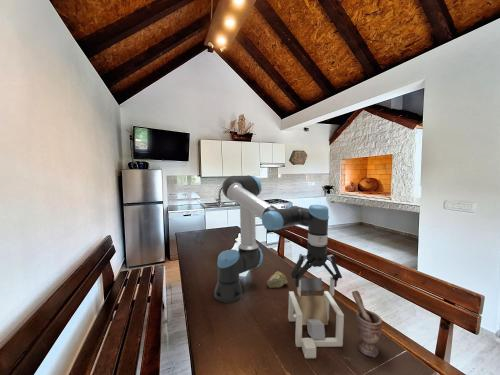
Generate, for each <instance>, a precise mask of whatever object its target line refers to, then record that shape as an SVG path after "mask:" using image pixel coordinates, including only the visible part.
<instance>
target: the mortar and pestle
mask: <svg viewBox="0 0 500 375" xmlns="http://www.w3.org/2000/svg"><path fill="white" fill-rule="evenodd" d="M351 294H352V297H353V299H354V301H355V303H356V305H357V307H358V309H359V310H357V311H356V313H355V317H356V318H355V320H356V321H355V327H356V331H357V334H358V336H359V339H358V340H357V342H356V348H357V349H358V351H359V352H360V353H361V354H363V355H365V356H368V357H371V358H374V359H375V358H376V357H377V356H378V355H379V352H380V351H379V348H378V346H377V344H376V343H378V341H380V338H381V335H382V327H383V320H382V318H381V316H379V314H377V313H375V312H374V311H371V310H367V309H366V308H365V305H364V303H363V299H362V296H361V294H360V292H359V291H358V290H353V291H352V292H351Z"/></svg>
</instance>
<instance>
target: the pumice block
mask: <svg viewBox="0 0 500 375" xmlns="http://www.w3.org/2000/svg"><path fill="white" fill-rule="evenodd" d="M301 350H302V353H303V355H304V358H305V359H317V347H316V346H315V343H314V341H313V339H306V340H302V347H301Z"/></svg>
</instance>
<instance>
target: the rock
mask: <svg viewBox="0 0 500 375" xmlns="http://www.w3.org/2000/svg"><path fill="white" fill-rule="evenodd" d="M288 283H289V281H288V278H287V276H286V275H285V274H284V273H283V272H281V271H280V270H279V271H278V270H277V271H276V272H274V274H272V275H271V276H270V277H269V278H268V279H267V281H266V284H267V286H268V288H269V289H273V288H282V287H283V286H284V285H285V284H288Z"/></svg>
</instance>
